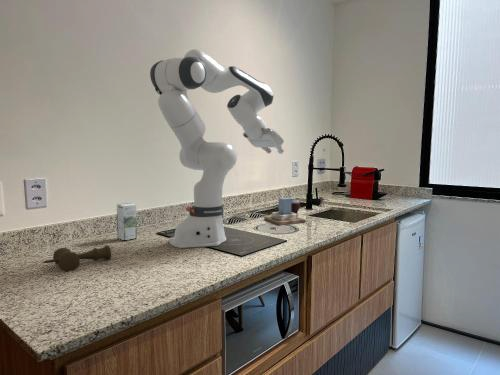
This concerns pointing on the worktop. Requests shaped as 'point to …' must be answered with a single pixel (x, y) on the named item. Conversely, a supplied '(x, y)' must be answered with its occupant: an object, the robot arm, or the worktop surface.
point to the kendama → (77, 257)
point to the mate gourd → (294, 204)
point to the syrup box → (126, 221)
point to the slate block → (284, 206)
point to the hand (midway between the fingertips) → (275, 152)
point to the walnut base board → (284, 219)
